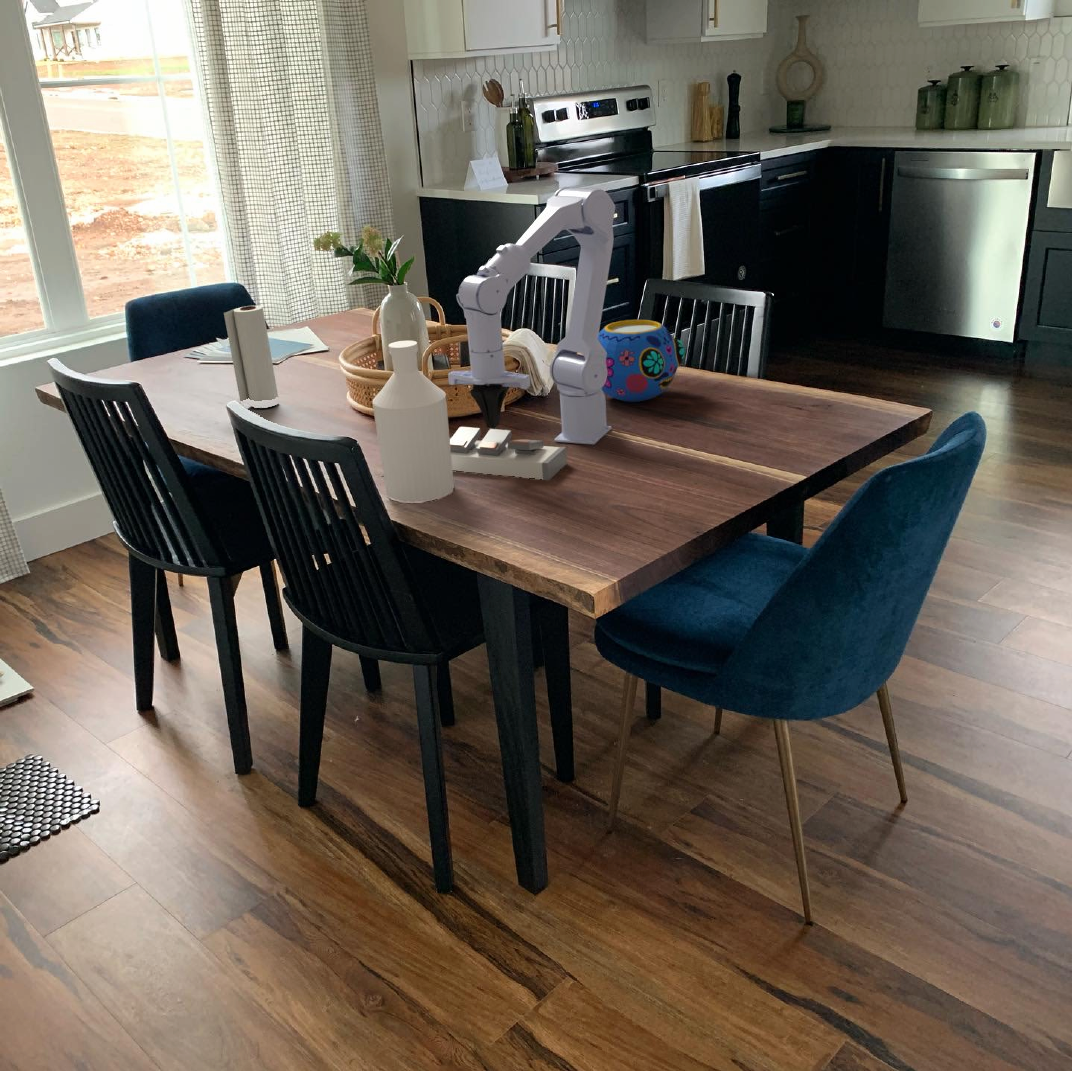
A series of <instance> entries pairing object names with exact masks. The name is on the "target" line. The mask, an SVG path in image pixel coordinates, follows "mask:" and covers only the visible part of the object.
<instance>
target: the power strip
mask: <svg viewBox="0 0 1072 1071" xmlns="http://www.w3.org/2000/svg"><path fill="white" fill-rule="evenodd" d="M449 438H450V439H451V438H452V437H449ZM481 441H482V440H477V441H476V442H475V443H474V445H473V446H472V447H471V449H470V450H469V452H468V453H462V452H451V461H452V470H458V471H464V472H463V473H466V472H476V473H475V474H477V473H483V474H482V475H487V474H492V475H491V476H498V475H509V476H515V477H514V478H519V477H522V478H521V479H529V478H535V479H534V480H540V479H542V480H541V481H550V480H551V479H552V478H553V477H554V476H555V475H556V474H558V472H560V471H561V470H562V469H563V468H564V467H565V466H567V464H568V461H567V458H568V457H567V447H566V446H550V445H549V446H547V445H543V448H539V449H534V450H518V449H508V443H507V444H506V446H505V447H504V449H503V450H502V451H501V453H500V454H499V456H496V455H485V454H478V453H477V449H476V448H477V447H478V445H479V444H480V442H481ZM560 469H561V470H560Z"/></svg>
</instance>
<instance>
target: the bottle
mask: <svg viewBox="0 0 1072 1071" xmlns="http://www.w3.org/2000/svg"><path fill="white" fill-rule="evenodd" d="M418 351H419V347H418V342H417V341H416V340H398V341H394V342H391V343H388V352H389V355H391V361H392V368H393V373H392V375H391V376H390V377H389V379H388V380H387V381H386V383H385V384H384V386H383V387H382V389H381V390H379V391H378V392H377V394H376V395H375V397H374V398H373V400H372V401H371V402H372V407H373V408H372V410H373V413H374V414H373V415H374V416H373V417H374V422H375V428H376V434H377V435H376V436H377V441H378V448H379V453H380V461H381V467H382V472H383V482H384V487H385V494H386V493H387V495H388V496H391V497H392V498H394V499H399V500H403V501H412V502H415V501H426V500H432V499H437V498H439V497H442V496H445V495H446V494H447V493H450V492H451V491H452V490H453V488H454V489H455V486H454V485H455V484H454V474H453V473H454V471H452V461H451V449H450V438H451V437H450V429H449V427H450V426H449V417H448V406H447V405H448V404H447V394H446V392H445V391H444V390H443V389H442V388H440V387H439V386H437V385H436V384H434V383H433V382H432V381H431V380H430V379H429V378H427V376H425V374H423V373H422V372H421V371H420V370H419V369H418V356H417V353H418ZM453 491H454V490H453ZM453 491H452V492H453ZM452 492H451V493H452ZM451 493H450V494H451ZM387 495H386V496H387Z"/></svg>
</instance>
